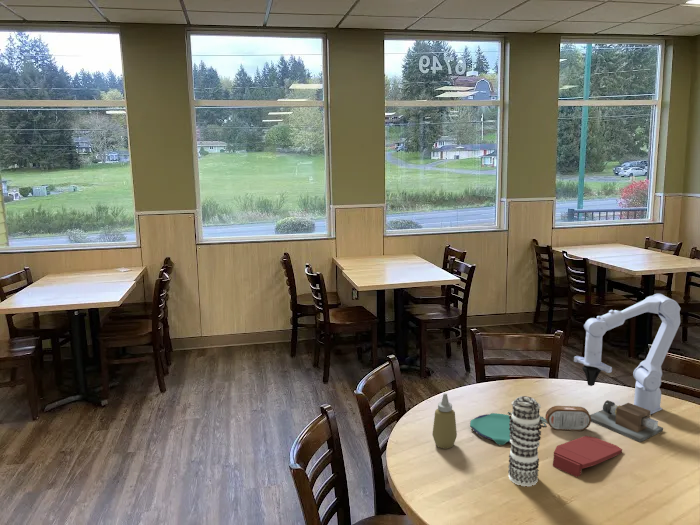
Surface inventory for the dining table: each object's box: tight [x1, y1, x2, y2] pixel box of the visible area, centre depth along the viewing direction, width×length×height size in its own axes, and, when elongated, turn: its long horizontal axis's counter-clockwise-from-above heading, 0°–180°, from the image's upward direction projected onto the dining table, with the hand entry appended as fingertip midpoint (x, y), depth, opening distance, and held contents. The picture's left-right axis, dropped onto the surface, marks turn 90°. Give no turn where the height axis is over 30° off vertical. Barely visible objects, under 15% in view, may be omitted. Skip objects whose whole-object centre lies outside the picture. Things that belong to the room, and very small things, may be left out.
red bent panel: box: [552, 435, 623, 478], centre depth 175 cm, size 12×5×25 cm
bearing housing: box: [590, 402, 664, 443], centre depth 195 cm, size 14×20×7 cm
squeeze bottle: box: [432, 393, 458, 450], centre depth 182 cm, size 8×8×18 cm
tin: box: [544, 405, 592, 432], centre depth 192 cm, size 15×3×8 cm, turn 84°
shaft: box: [602, 400, 659, 430], centre depth 193 cm, size 4×18×4 cm, turn 32°
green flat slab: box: [469, 411, 549, 446], centre depth 195 cm, size 20×30×2 cm, turn 120°
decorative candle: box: [507, 395, 543, 487], centre depth 161 cm, size 9×9×25 cm
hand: (591, 385), depth 207 cm, fingers closed
